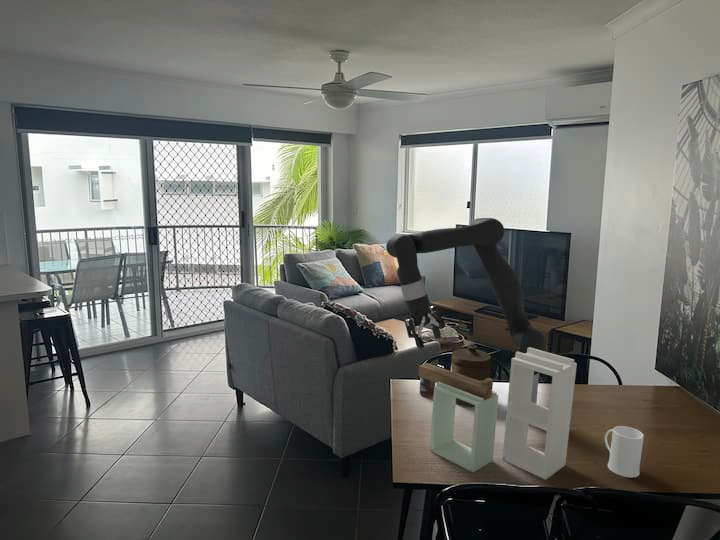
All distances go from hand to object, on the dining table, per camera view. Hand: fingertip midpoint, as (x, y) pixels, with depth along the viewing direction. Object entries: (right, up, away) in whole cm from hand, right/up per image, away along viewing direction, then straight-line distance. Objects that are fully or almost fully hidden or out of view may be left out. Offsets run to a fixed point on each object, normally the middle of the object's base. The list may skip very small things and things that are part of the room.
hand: (430, 343), depth 167 cm
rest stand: (+8, -33, -9) cm, 35 cm away
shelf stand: (+30, -34, -11) cm, 47 cm away
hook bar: (+6, -12, -9) cm, 16 cm away
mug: (+55, -36, -11) cm, 67 cm away
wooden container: (+19, -27, +33) cm, 47 cm away
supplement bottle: (+4, -25, +37) cm, 45 cm away
